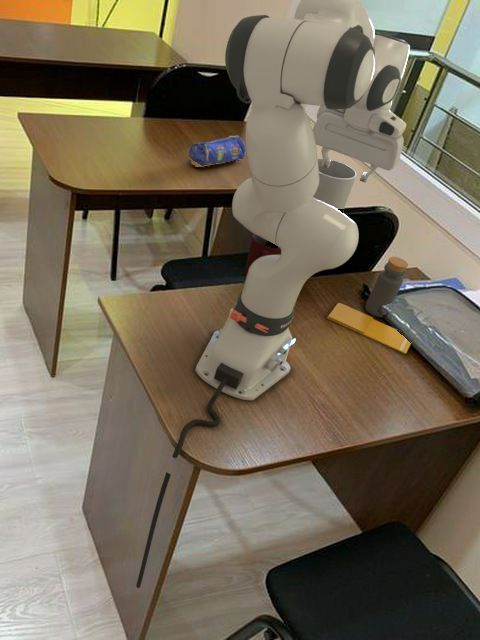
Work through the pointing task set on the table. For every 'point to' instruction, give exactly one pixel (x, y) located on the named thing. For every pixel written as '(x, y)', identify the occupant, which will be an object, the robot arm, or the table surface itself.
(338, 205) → the cylinder vase
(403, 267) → the bottle
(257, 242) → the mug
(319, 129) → the robot arm
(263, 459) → the table surface
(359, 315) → the flat rectangular block
